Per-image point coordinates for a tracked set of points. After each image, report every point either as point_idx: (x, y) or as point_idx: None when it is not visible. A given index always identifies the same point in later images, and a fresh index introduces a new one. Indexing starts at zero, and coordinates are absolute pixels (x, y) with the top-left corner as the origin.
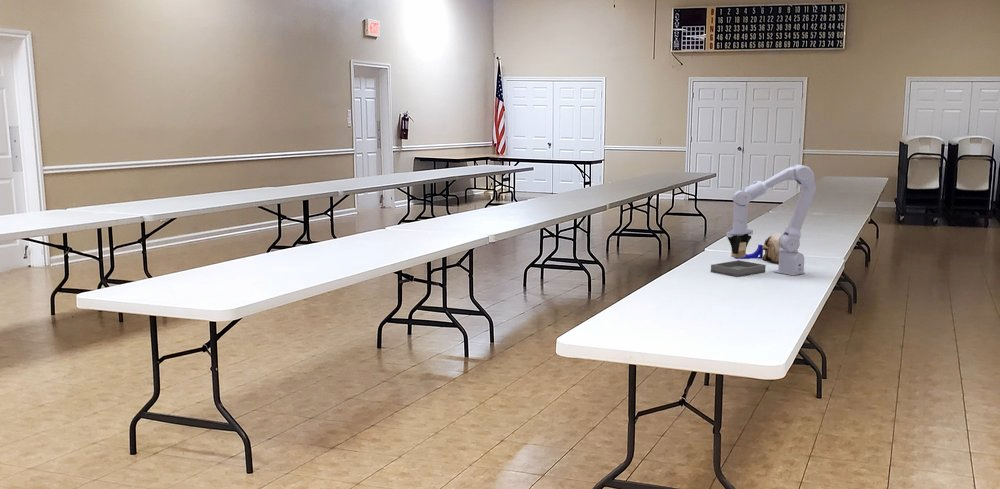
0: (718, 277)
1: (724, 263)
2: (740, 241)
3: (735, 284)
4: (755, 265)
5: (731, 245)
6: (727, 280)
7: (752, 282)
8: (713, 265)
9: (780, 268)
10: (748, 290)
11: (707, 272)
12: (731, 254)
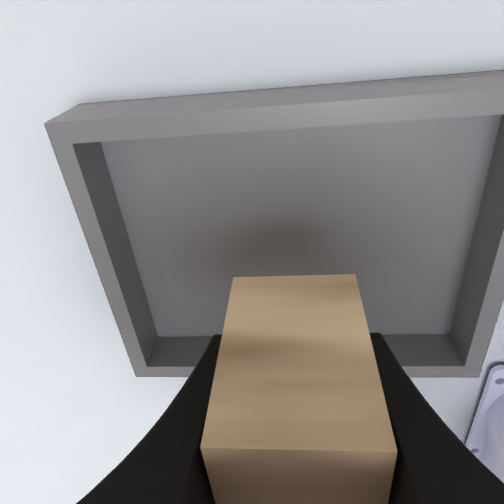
0: (22, 285)
1: (251, 129)
2: (400, 480)
3: (21, 421)
4: (473, 298)
5: (165, 421)
6: (32, 358)
7: (131, 434)
8: (58, 155)
9: (502, 424)
10: (14, 487)
11: (35, 107)
12: (231, 294)
